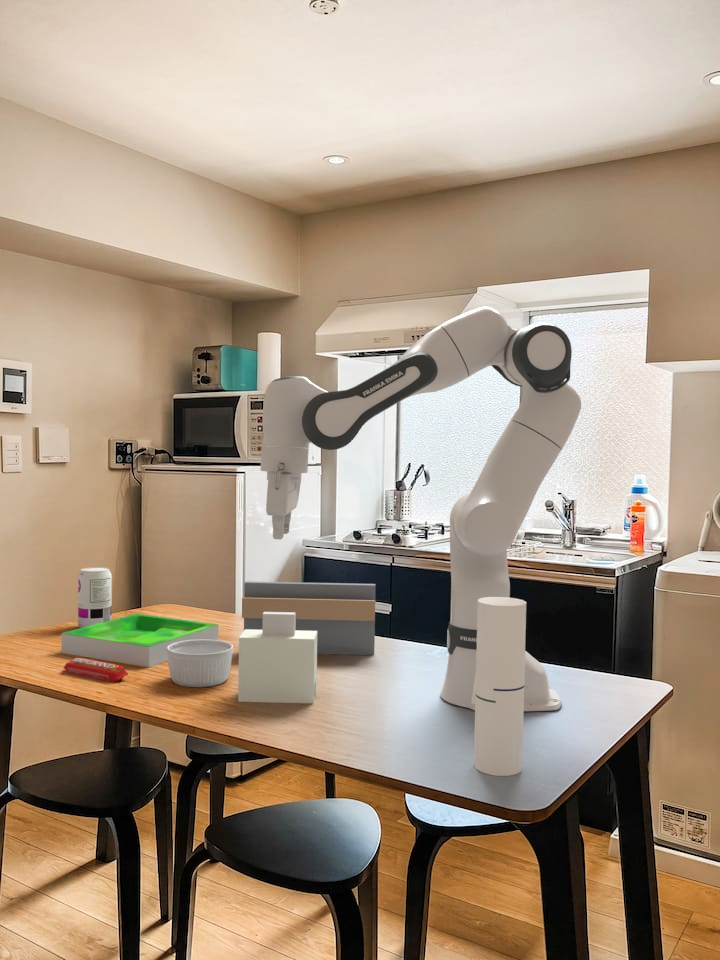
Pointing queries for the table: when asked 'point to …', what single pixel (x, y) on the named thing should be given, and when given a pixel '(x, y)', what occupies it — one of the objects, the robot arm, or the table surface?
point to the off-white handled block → (277, 662)
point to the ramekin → (200, 662)
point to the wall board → (318, 612)
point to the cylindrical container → (500, 685)
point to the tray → (134, 638)
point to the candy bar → (95, 669)
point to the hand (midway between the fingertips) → (281, 536)
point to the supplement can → (94, 596)
